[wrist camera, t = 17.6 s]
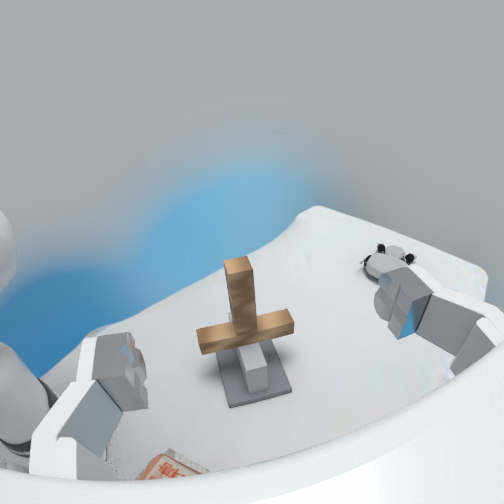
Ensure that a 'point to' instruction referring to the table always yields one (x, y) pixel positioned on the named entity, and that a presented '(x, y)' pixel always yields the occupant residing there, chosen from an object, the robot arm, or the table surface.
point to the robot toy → (386, 260)
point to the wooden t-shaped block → (243, 314)
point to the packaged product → (171, 467)
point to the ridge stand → (252, 373)
